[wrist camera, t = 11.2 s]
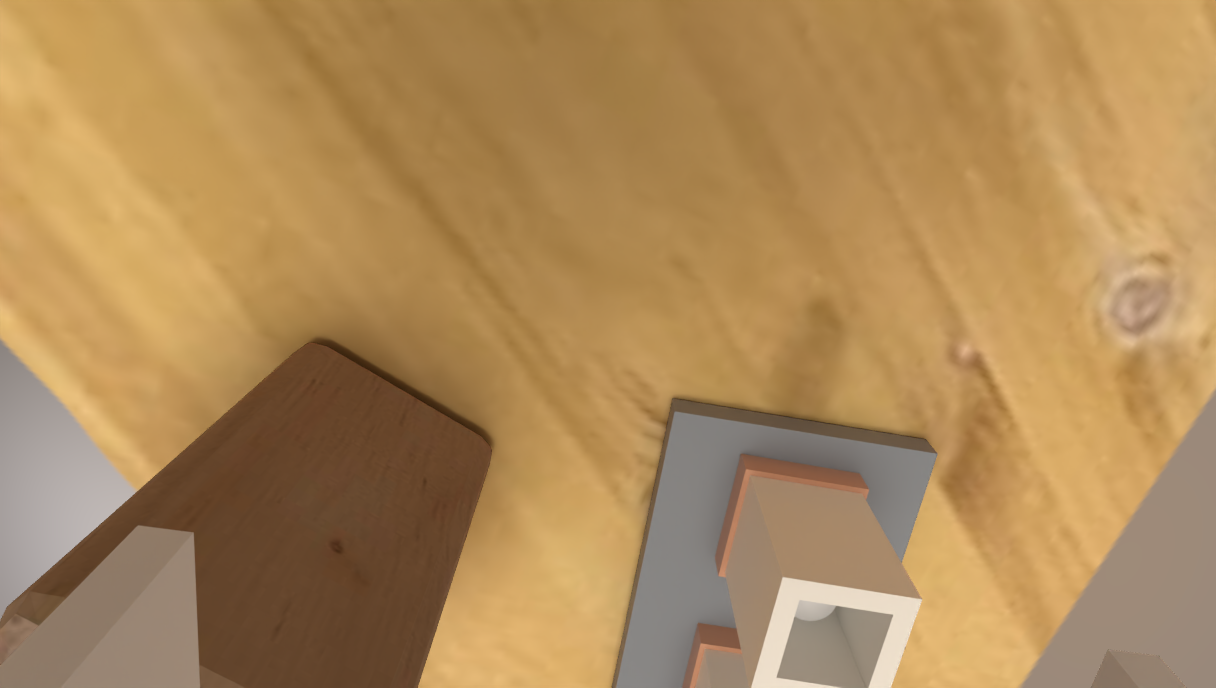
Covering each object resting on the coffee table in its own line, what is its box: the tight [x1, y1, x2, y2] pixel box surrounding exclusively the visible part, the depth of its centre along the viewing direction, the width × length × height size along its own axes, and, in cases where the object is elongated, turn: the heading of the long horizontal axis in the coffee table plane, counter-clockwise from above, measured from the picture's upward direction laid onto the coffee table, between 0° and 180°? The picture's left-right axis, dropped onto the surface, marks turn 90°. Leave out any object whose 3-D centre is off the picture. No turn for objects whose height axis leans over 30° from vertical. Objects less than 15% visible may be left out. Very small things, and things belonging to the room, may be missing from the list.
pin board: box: [612, 399, 937, 688], centre depth 37 cm, size 18×12×8 cm, turn 170°
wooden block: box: [0, 343, 492, 688], centre depth 30 cm, size 10×10×20 cm
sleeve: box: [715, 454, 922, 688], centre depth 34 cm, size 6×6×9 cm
